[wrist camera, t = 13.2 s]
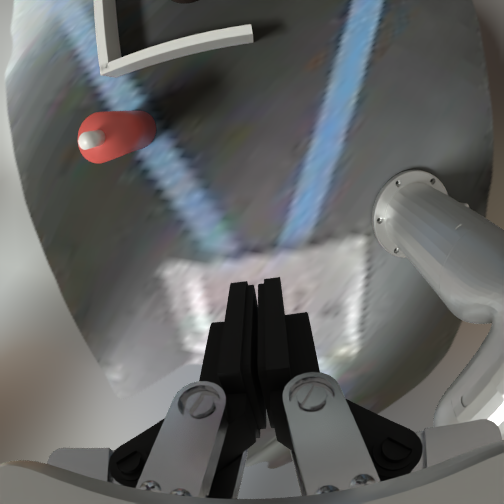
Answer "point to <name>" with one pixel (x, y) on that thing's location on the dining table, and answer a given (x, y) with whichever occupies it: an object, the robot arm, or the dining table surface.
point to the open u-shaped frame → (177, 48)
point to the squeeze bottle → (115, 134)
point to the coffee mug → (184, 1)
